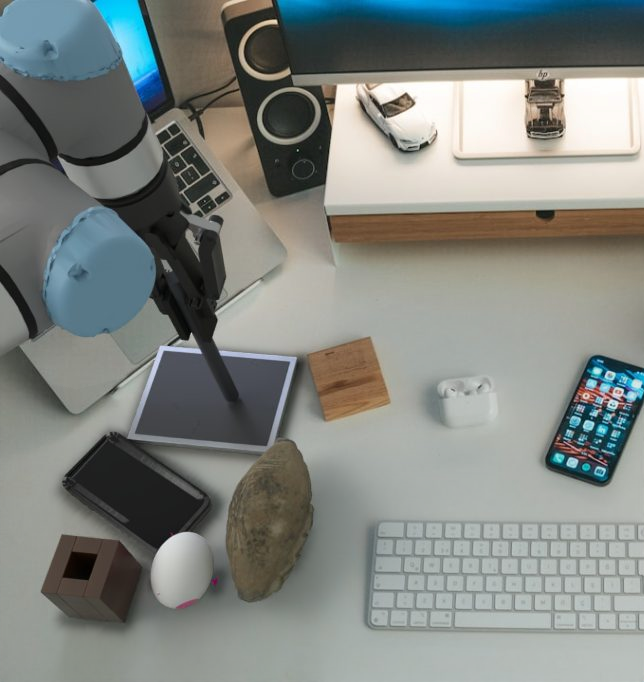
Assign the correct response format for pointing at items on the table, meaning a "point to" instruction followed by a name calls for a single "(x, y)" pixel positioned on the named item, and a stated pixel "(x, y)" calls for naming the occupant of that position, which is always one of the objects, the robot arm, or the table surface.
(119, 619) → the pen stand
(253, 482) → the stone
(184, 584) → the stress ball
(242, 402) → the tablet
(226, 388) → the stylus
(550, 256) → the table surface
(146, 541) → the phone
